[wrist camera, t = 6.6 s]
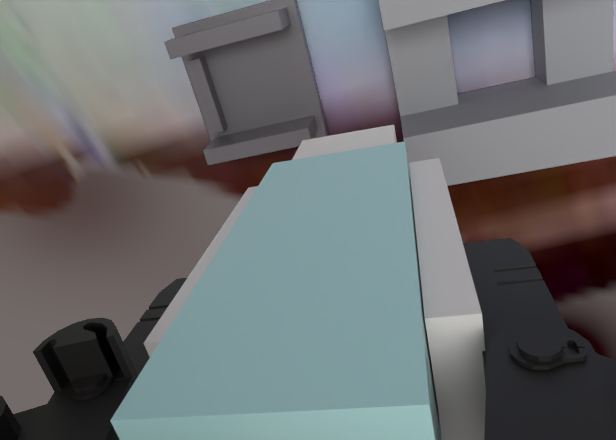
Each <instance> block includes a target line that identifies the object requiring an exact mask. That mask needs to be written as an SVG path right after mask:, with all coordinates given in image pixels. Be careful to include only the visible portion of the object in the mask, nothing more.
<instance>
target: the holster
mask: <svg viewBox="0 0 616 440" xmlns="http://www.w3.org/2000/svg"><path fill="white" fill-rule="evenodd" d="M172 30H173V33H174V36H175V38H174V39H171V40H168V41H165V45H166V48H167V51H168V54H169V57H170V59H173V58H177V57H180V56H182V59H183V62H184V65H185V68H186V71H187V73H188V76H189V79H190V82H191V85H192V88H193V91H194V94H195V97H196V100H197V102H198V105H199V108H200V111H201V114H202V117H203V120H204V123H205V126H206V129H207V131H208V134H209V137H210V140H211V143H210V144H209V145H208V146H207V147H206V148H205V149H204V150H203V152H204V155H205V158H206V161H207V164H208V165H212V164H217V163H221V162H226V161H231V160H236V159H240V158H245V157H250V156H255V155H259V154H264V153H269V152H274V151H279V150H283V149H288V148H293V147H298V146H300V144H301V142H302V140H308V139H314V138H319V137H325V136H327V135H328V129H327V125H326V121H325V117H324V113H323V109H322V105H321V100H320V96H319V92H318V88H317V84H316V80H315V76H314V72H313V68H312V63H311V59H310V55H309V51H308V47H307V43H306V39H305V35H304V30H303V26H302V22H301V18H300V14H299V10H298V6H297V2H296V0H270V1H266V2H263V3H259V4H256V5H252V6H249V7H245V8H241V9H238V10H234V11H231V12H227V13H224V14H220V15H216V16H213V17H209V18H206V19H202V20H199V21H195V22H192V23H188V24H184V25H181V26H177V27H174V28H172Z"/></svg>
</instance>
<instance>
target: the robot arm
mask: <svg viewBox="0 0 616 440" xmlns="http://www.w3.org/2000/svg"><path fill="white" fill-rule="evenodd" d="M409 169H410V178H411V188H412V198H413V208H414V218H415V228H416V238H417V247H418V257H419V267H420V277H421V287H422V297H423V307H424V316H425V324H426V331H427V337H428V344H429V351H430V358H431V364H432V371H433V378H434V385H435V391H436V398H437V405H438V412H439V418H440V425H441V432H442V439H443V440H616V361H615V360H613V359H610V358H607V357H604V356H601V355H599V354H597V353H595V351H594V349H593V348H592V346H591V344H590V342H589V341H587V340H586V339H584V338H583V337H582V336H581V335H579V334H578V333H576V332H575V331H573V330H570V329H568V328H567V326H566V324H565V322H564V320H563V318H562V316H561V314H560V312H559V310H558V308H557V306H556V304H555V302H554V300H553V298H552V296H551V294H550V292H549V290H548V288H547V286H546V284H545V282H544V281H543V280H542V276H541V274H540V272H539V270H538V268H536V264H535V262H534V260H533V259H532V257H531V255H530V253H529V251H528V249H526V248H525V247H523V246H522V245H520V244H519V243H517V242H516V241H514V240H512V239H511V238H507V239H498V240H490V241H481V242H473V243H464V244H463V242H462V239H461V235H460V231H459V228H458V224H457V220H456V217H455V213H454V210H453V206H452V202H451V199H450V195H449V191H448V188H447V184H446V180H445V177H444V173H443V169H442V166H441V162H440V158H436V159H430V160H423V161H417V162H410V163H409ZM257 187H258V186H256V187H250V188H248V189H247V190H246V192H245V193H244V195H243V196H242V198H241V199H240V201H239V202H238V204H237V205H236V207H235V208H234V210H233V211H232V213H231V214H230V216H229V217H228V219H227V220H226V221H225V223H224V224H223V226H222V227H221V229H220V230H219V232H218V234H217V235H216V236H215V238H214V239H213V241H212V242H211V244H210V245H209V247H208V248H207V250H206V251H205V253H204V254H203V256H202V257H201V259H200V260H199V262H198V263H197V264H196V266H195V267H194V269H193V270H192V272H191V273H190V275H189V276H188V278H181V279H176V280H175V281H174V282H172V283H171V284H170V285H169V286H168V287H166V288H165V289H163V290H162V291H161V292H160V293H159V294H158V295H157V297H156V298H155V299H154V301H153V302H152V303H151V305H150V306H149V310H146V312H145V313H144V314H143V316H142V317H141V319H140V322H138V323H137V324H136V325H135V327H134V328H133V329H132V331H131V332H130V334H129V335H128V336H127V338H126V339H125V340H124V342H123V341H122V339H121V337H120V335H119V333H118V330H117V328H116V326H115V325H114V323H113V322H112V320H109V319H105V318H95V319H87V320H84V321H81V322H77V323H74V324H72V325H70V326H67V327H66V328H63V329H61V330H59V331H57V332H56V333H54V334H53V335H51V336H50V337H48V338H47V339H46V340H44V341H43V342H42V343H41V344H40V345H39V346H38V347H37V348H36V349H35V350H34V351H33V353H34V355H35V356H36V358H37V360H38V362H39V364H40V366H41V368H42V369H43V371H44V373H45V375H46V377H47V379H48V380H49V382H50V384H51V386H52V388H53V390H54V391H55V392H54V394H53V395H52V397H51V399H50V400H49V402H48V404H46V405H42V406H39V407H36V408H33V409H30V410H26V411H23V412H20V413H16V414H13V413H12V412H11V410H10V408H9V407H8V405H7V403H6V402H5V400H4V398H3V397H2V396H0V440H120V439H119V437H118V435H117V433H116V431H115V429H114V427H113V425H112V423H111V421H110V420H111V419H112V417H113V415H114V414H115V412H116V411H117V409H118V407H119V406H120V404H121V403H122V401H123V400H124V398H125V396H126V395H127V393H128V392H129V390H130V388H131V387H132V385H133V384H134V382H135V381H136V379H137V377H138V376H139V374H140V373H141V371H142V369H143V368H144V366H145V365H146V363H147V362H148V360H149V358H150V357H151V355H152V354H153V352H154V350H155V349H156V347H157V346H158V344H159V343H160V341H161V339H162V338H163V336H164V335H165V333H166V331H167V330H168V328H169V327H170V325H171V324H172V322H173V320H174V319H175V317H176V316H177V314H178V312H179V311H180V309H181V308H182V306H183V304H184V303H185V301H186V300H187V298H188V297H189V295H190V293H191V292H192V290H193V289H194V287H195V285H196V284H197V282H198V281H199V279H200V278H201V276H202V274H203V273H204V271H205V270H206V268H207V266H208V265H209V263H210V262H211V260H212V259H213V257H214V255H215V254H216V252H217V251H218V249H219V247H220V246H221V244H222V243H223V241H224V240H225V238H226V236H227V235H228V233H229V232H230V230H231V228H232V227H233V225H234V224H235V222H236V221H237V219H238V217H239V216H240V214H241V213H242V211H243V209H244V208H245V206H246V205H247V203H248V202H249V200H250V198H251V197H252V195H253V194H254V192H255V190H256V189H257Z"/></svg>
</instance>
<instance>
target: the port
mask: <svg viewBox="0 0 616 440" xmlns="http://www.w3.org/2000/svg"><path fill="white" fill-rule="evenodd" d="M378 1H379V6H380V12H381V17H382V23H383V29H384V31H385V34H386V39H387V45H388V50H389V56H390V61H391V67H392V73H393V78H394V84H395V89H396V95H397V100H398V106H399V112H400V117H401V125H402V132H403V139H404V142H405V145H406V152H407V159H408V166H409V163H410V162H417V161H423V160H430V159H436V158H440V162H441V166H442V169H443V173H444V177H445V180H446V184H447V186H449V185H455V184H461V183H466V182H472V181H477V180H483V179H489V178H494V177H500V176H505V175H511V174H517V173H522V172H528V171H533V170H539V169H544V168H550V167H556V166H561V165H567V164H572V163H578V162H584V161H589V160H595V159H600V158H606V157H612V156H616V72H614V71H613V0H530V2H531V17H532V33H533V48H534V64H535V77H533V78H528V79H524V80H519V81H515V82H510V83H505V84H501V85H496V86H492V87H487V88H482V89H478V90H473V91H469V92H464V93H460V94H457V88H456V80H455V73H454V65H453V57H452V49H451V42H450V34H449V26H448V19H447V15H449V14H453V13H457V12H461V11H465V10H468V9H472V8H476V7H480V6H484V5H488V4H492V3H496V2H500V1H504V0H378ZM409 173H410V169H409Z"/></svg>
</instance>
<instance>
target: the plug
mask: <svg viewBox="0 0 616 440" xmlns="http://www.w3.org/2000/svg"><path fill="white" fill-rule="evenodd" d="M110 421H111V423H112V425H113V427H114V429H115V431H116V433H117V435H118V437H119V439H120V440H442V432H441V425H440V418H439V412H438V405H437V398H436V391H435V385H434V378H433V371H432V364H431V358H430V351H429V344H428V337H427V331H426V324H425V316H424V307H423V297H422V287H421V277H420V267H419V257H418V247H417V238H416V228H415V218H414V208H413V198H412V188H411V180H410V173H409V166H408V159H407V152H406V145H405V142H399V143H397V140H396V134H395V127H394V125H389V126H383V127H377V128H371V129H365V130H360V131H354V132H348V133H342V134H337V135H331V136H325V137H319V138H314V139H308V140H302V142H301V144H300V146H299V148H298V150H297V152H296V153H295V155H294V157H293V159H292V160H290V161H283V162H277V163H273V164H272V165H271V167H270V168H269V170H268V171H267V173H266V175H265V176H264V178H263V179H262V181H261V183H260V184H259V186H258V187H257V189H256V190H255V192H254V194H253V195H252V197H251V198H250V200H249V202H248V203H247V205H246V206H245V208H244V209H243V211H242V213H241V214H240V216H239V217H238V219H237V221H236V222H235V224H234V225H233V227H232V228H231V230H230V232H229V233H228V235H227V236H226V238H225V240H224V241H223V243H222V244H221V246H220V247H219V249H218V251H217V252H216V254H215V255H214V257H213V259H212V260H211V262H210V263H209V265H208V266H207V268H206V270H205V271H204V273H203V274H202V276H201V278H200V279H199V281H198V282H197V284H196V285H195V287H194V289H193V290H192V292H191V293H190V295H189V297H188V298H187V300H186V301H185V303H184V304H183V306H182V308H181V309H180V311H179V312H178V314H177V316H176V317H175V319H174V320H173V322H172V324H171V325H170V327H169V328H168V330H167V331H166V333H165V335H164V336H163V338H162V339H161V341H160V343H159V344H158V346H157V347H156V349H155V350H154V352H153V354H152V355H151V357H150V358H149V360H148V362H147V363H146V365H145V366H144V368H143V369H142V371H141V373H140V374H139V376H138V377H137V379H136V381H135V382H134V384H133V385H132V387H131V388H130V390H129V392H128V393H127V395H126V396H125V398H124V400H123V401H122V403H121V404H120V406H119V407H118V409H117V411H116V412H115V414H114V415H113V417H112V419H111V420H110Z"/></svg>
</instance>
